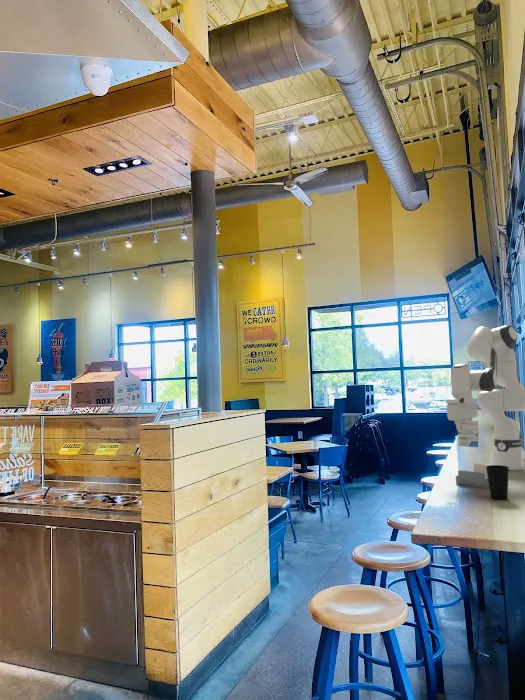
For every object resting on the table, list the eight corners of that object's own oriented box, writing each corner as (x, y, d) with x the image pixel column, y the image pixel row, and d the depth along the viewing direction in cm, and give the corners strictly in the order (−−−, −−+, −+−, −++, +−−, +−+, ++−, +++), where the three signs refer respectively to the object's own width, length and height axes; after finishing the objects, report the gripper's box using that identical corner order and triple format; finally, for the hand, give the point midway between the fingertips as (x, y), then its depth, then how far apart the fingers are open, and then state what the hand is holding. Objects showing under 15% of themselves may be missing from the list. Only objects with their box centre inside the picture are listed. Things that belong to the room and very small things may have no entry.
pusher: (476, 479, 227) (475, 463, 227) (499, 482, 219) (498, 465, 219) (470, 480, 224) (469, 464, 224) (493, 484, 216) (492, 467, 216)
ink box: (477, 446, 235) (478, 420, 236) (478, 447, 231) (478, 421, 231) (457, 444, 238) (458, 419, 239) (457, 446, 234) (458, 420, 234)
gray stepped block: (475, 478, 229) (474, 465, 230) (505, 482, 219) (504, 468, 219) (456, 484, 219) (455, 470, 220) (486, 488, 209) (485, 473, 209)
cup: (513, 501, 186) (511, 468, 187) (490, 501, 188) (488, 468, 188) (507, 497, 194) (505, 465, 194) (485, 496, 195) (484, 465, 196)
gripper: (467, 397, 245) (469, 426, 244) (443, 399, 232) (445, 430, 232) (480, 397, 240) (481, 427, 239) (456, 400, 228) (458, 431, 227)
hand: (463, 428), depth 235 cm, fingers closed on ink box, 6 cm apart
